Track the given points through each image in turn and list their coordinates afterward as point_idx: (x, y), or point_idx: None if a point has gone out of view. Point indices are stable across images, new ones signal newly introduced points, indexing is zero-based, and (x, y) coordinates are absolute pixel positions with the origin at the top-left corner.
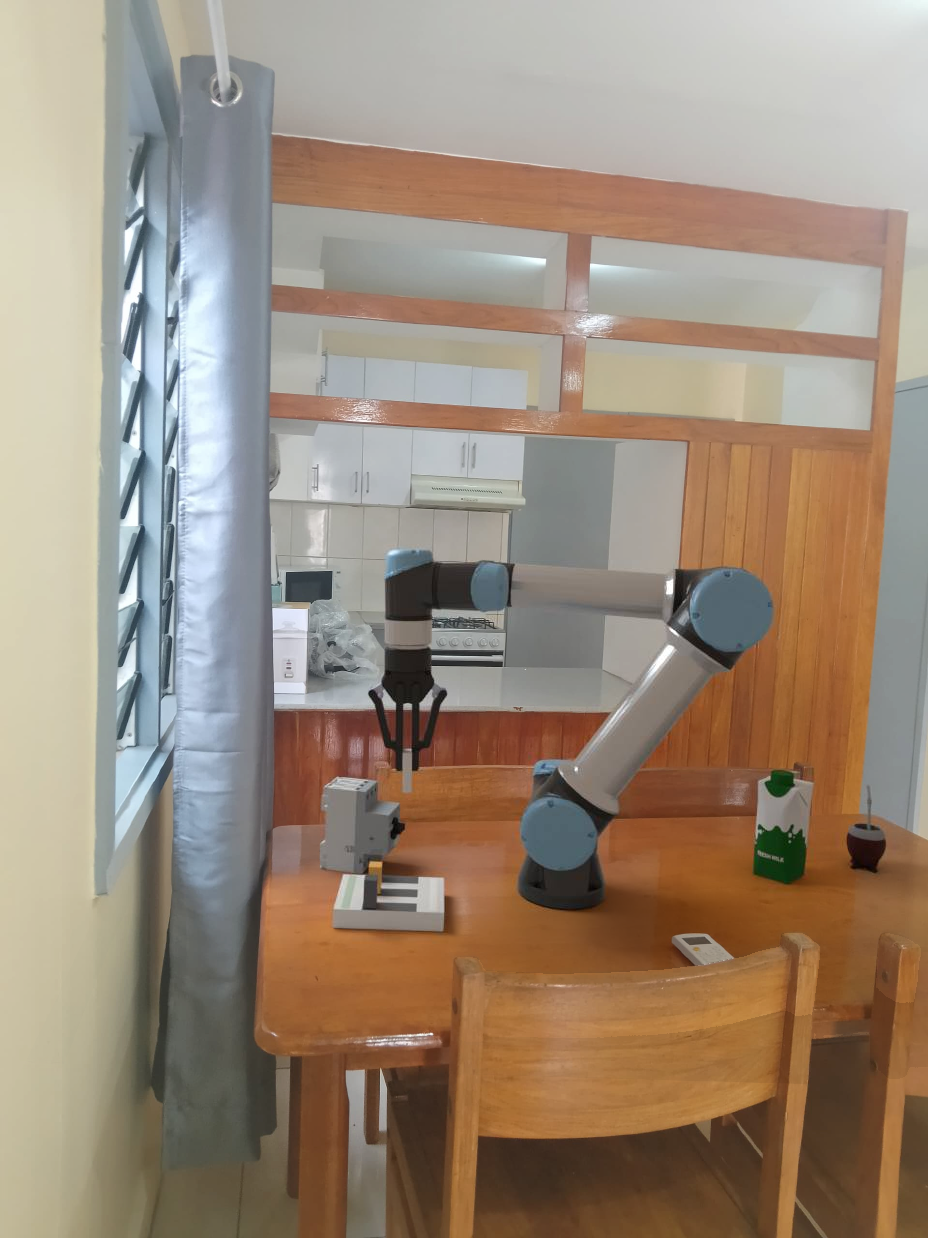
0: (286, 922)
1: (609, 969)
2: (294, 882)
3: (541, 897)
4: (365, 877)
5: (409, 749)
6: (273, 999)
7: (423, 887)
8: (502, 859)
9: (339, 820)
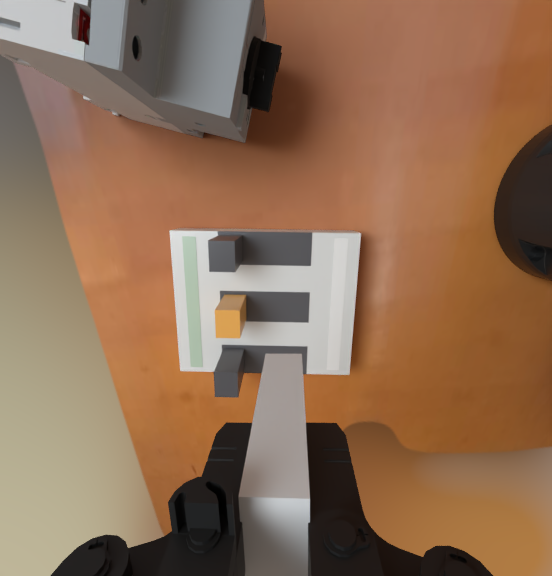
0: (121, 342)
1: (542, 444)
2: (88, 191)
3: (528, 269)
4: (215, 385)
5: (291, 510)
6: (159, 506)
7: (320, 282)
8: (509, 11)
9: (92, 89)
